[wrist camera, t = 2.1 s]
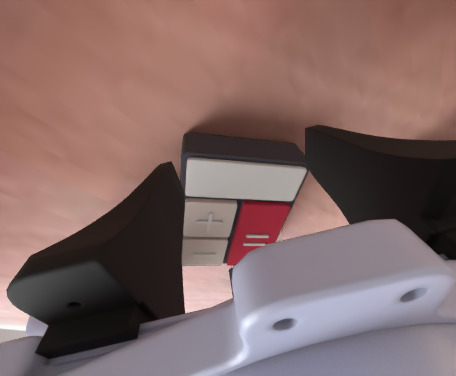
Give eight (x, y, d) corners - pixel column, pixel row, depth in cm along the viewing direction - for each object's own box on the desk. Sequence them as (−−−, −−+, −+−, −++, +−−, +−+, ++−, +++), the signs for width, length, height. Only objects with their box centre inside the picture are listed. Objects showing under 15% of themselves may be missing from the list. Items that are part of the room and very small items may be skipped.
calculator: (176, 270, 24) (180, 155, 15) (178, 239, 28) (183, 131, 19) (267, 269, 27) (317, 167, 18) (259, 240, 30) (298, 143, 21)
